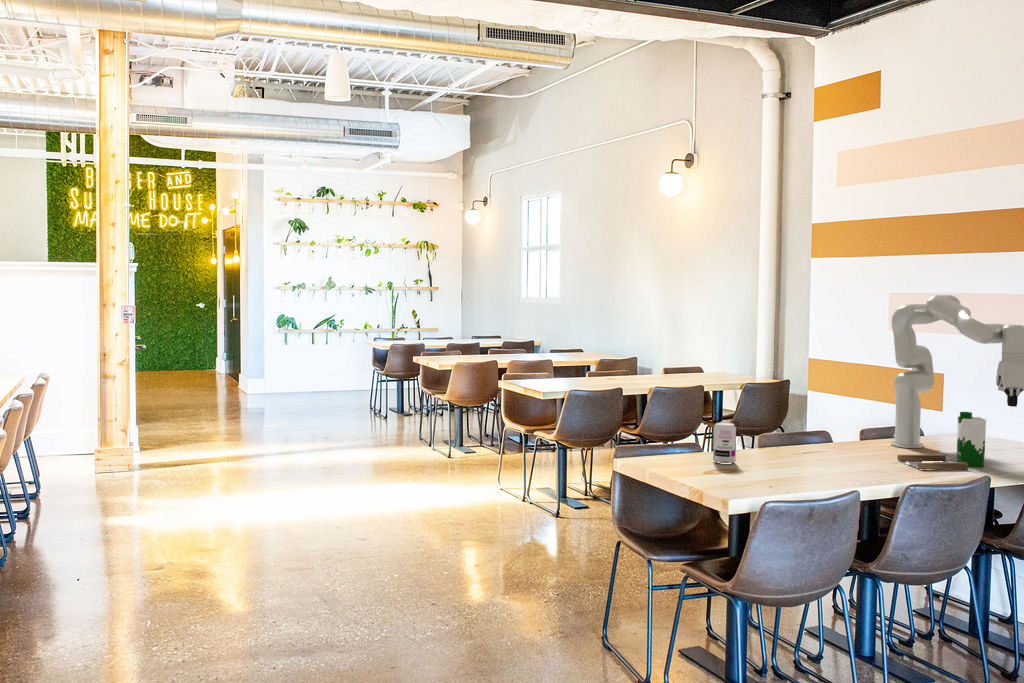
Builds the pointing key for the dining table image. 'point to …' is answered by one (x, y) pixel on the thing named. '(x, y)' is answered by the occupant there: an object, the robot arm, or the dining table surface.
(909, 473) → the dining table surface
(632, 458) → the dining table surface
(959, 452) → the soya milk
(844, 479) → the dining table surface
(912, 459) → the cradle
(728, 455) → the supplement can
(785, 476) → the dining table surface
